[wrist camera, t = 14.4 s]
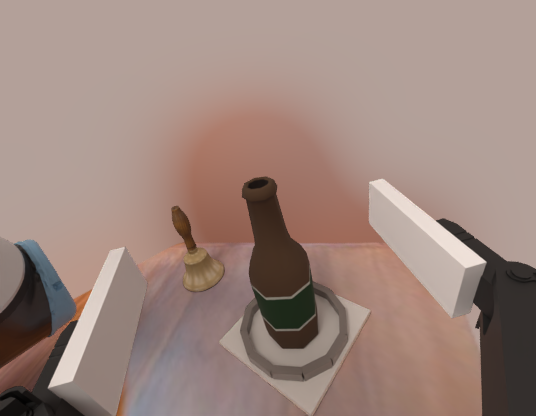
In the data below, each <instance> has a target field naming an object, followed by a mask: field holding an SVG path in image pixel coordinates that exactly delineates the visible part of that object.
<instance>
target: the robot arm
mask: <svg viewBox="0 0 536 416" xmlns="http://www.w3.org/2000/svg"><path fill="white" fill-rule="evenodd" d="M369 224H370V225H371V226H372V227H373V228H374V229H375V231H376V232H377V233H378V234H379V235H380V236H381V238H382V239H383V240H384V241H385V242H386V243H387V244H388V246H389V247H390V248H391V249H392V250H393V251H394V252H395V254H396V255H397V256H398V257H399V258H400V259H401V260H402V262H403V263H404V264H405V265H406V266H407V267H408V269H409V270H410V271H411V272H412V273H413V274H414V275H415V277H416V278H417V279H418V280H419V281H420V282H421V283H422V285H423V286H424V287H425V288H426V289H427V290H428V292H429V293H430V294H431V295H432V296H433V297H434V298H435V300H436V301H437V302H438V303H439V304H440V305H441V306H442V308H443V309H444V310H445V311H446V312H447V313H448V315H449V316H450V317H451V318H454V317H458V316H461V315H465V314H468V313H470V312H471V308H472V305H473V303H474V304H475V305H476V306H478V308H479V309H480V310H481V312H480V315H479V318H478V321H477V324H476V327H475V328H478V329H479V327H480V349H481V383H482V416H536V269H535V268H533V267H531V266H529V265H526V264H523V263H519V262H509V261H508V262H507V261H506V260H504V259H503V258H501V257H500V256H499V255H498V254H496V253H495V252H494V251H492V250H491V249H490V248H488V247H487V246H486V245H484V244H483V243H482V242H480V241H479V240H478V239H475V238H474V236H472V235H471V234H469V233H467V232H466V230H464V229H463V228H462V227H460V226H459V225H458V224H456V223H454V222H451V221H448V220H446V219H440V220H436V221H435V220H434V219H432V218H431V217H430V216H428V215H427V214H426V213H425V212H424V211H422V210H421V209H420V208H419V207H418V206H416V205H415V204H414V203H413V202H411V201H410V200H409V199H407V198H406V197H405V196H404V195H403V194H401V193H400V192H399V191H398V190H396V189H395V188H394V187H393V186H391V185H390V184H389V183H388V182H386V181H385V180H384V179H380V180H376V181H372V182H370V183H369ZM147 285H148V283H147V281H146V279H145V278H144V276H143V275H142V273H141V271H140V270H139V268H138V266H137V265H136V263H135V262H134V260H133V258H132V257H131V255H130V254H129V252H128V250H127V249H126V247H122V248H119V249H115V250H111V251H110V253H109V255H108V257H107V259H106V261H105V264H104V266H103V268H102V270H101V272H100V274H99V277H98V279H97V281H96V283H95V285H94V288H93V290H92V292H91V294H90V296H89V299H88V301H87V303H86V305H85V307H84V310H83V312H82V314H81V316H80V318H79V320H76V321H73V322H70V324H69V325H68V326H67V327H66V328H65V330H64V331H63V332H62V333H61V334H60V336H59V338H58V340H57V342H56V344H55V346H54V347H55V349H53V350H52V352H51V354H50V357H49V360H48V361H47V363H46V365H45V367H44V369H43V371H42V373H41V375H40V377H39V379H38V381H37V383H36V385H35V387H34V389H33V391H32V393H31V392H30V391H28V390H27V389H25V388H24V387H23V386H15V387H13V388H10V389H7V390H6V391H4V392H3V393H1V394H0V416H116V413H117V409H118V405H119V401H120V397H121V393H122V388H123V384H124V380H125V376H126V372H127V368H128V364H129V360H130V355H131V351H132V347H133V343H134V339H135V335H136V331H137V327H138V322H139V318H140V314H141V310H142V306H143V302H144V298H145V294H146V289H147ZM75 313H76V304H75V302H74V300H73V299H72V297H71V295H70V294H69V292H68V291H67V289H66V287H65V286H64V284H63V283H62V281H61V279H60V278H59V276H58V274H57V273H56V271H55V269H54V268H53V266H52V265H51V263H50V262H49V260H48V258H47V257H46V255H45V254H44V252H43V251H42V249H41V248H40V246H39V245H38V243H37V242H35V241H34V240H25V241H23V242H17V243H15V244H12V243H11V242H9V241H8V240H6V239H3V238H1V237H0V368H2V367H3V366H5V365H6V364H8V363H9V362H11V361H12V360H13V359H15V358H16V357H18V356H19V355H21V354H22V353H24V352H25V351H27V350H28V349H30V348H31V347H33V346H34V345H36V344H37V343H39V342H40V341H42V340H43V339H45V338H46V337H50V336H52V335H53V334H54V333H55V332H56V330H58V329H59V328H60V327H62V326H63V325H64V324H66V323H67V322H68V321H70V320H71V319H72V318H73V317H74V315H75Z"/></svg>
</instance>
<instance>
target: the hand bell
mask: <svg viewBox="0 0 536 416" xmlns="http://www.w3.org/2000/svg"><path fill="white" fill-rule="evenodd" d="M172 221H173V224H174V227H175V229H176V230H177V232H178V233H179V234H180V235H181V236H182V238H183V239H184V241H185V244H186V247H187V250H188V252H187V253H186V255H185V256H184V263H185V266H186V272H185V274H184V277H183V285H184V287H185V288H186V289H187V290H189V291H194V292H198V291H204V290H207V289H209V288H211V287H213V286H214V285H215V284H217V283H218V282H219V281H220V279H221V278H222V276H223V274H224V266H223V264H222V263H221V262H219V261H218V260H215V259H212V258H211V257H210V256H209V254H208V253H207V251H206V250H205V249H204V248H197V247H196V244H195V242H194V240H193V238H192V235H191V226H190V223H189V220H188V218H187V216H186V215H185V214H184V212H183V211H181V209H180V208H179V207H178V206H174V207H172Z"/></svg>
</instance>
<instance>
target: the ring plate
mask: <svg viewBox="0 0 536 416" xmlns="http://www.w3.org/2000/svg"><path fill="white" fill-rule="evenodd" d="M312 282H313V281H312ZM313 288H314V293H315V299H316V305H317V314H318V335H317V336H316V337H315V338H314V339H313V340H312V341H311V342H310V343H309V344H308V345H307V346H305V347H304V348H303V349H282V348H281V347H280V346H279V345H278V344H277V343H276V341H275V340H274V339H273V338H272V337H271V336H270V335H269V334H268V331H267V329H266V327H265V324H264V321H263V318H262V315H261V312H260V309H259V306H258V303H257V300H256V297H255V298H254V299H253V300H252V301H251V302H250V303H249V305H248V306H247V308H246V309H245V313H244V315H243V316H242V317H241V318H240V319H239V320H238V321H237V322H236V323H235V325H234V326H233V327H232V328H231V329H230V330H229V331H228V332H227V333H226V334H225V335H224V337H223V338H222V339H221V340H220V341H219V343H220V345H221V346H222V347H224V348H225V349H226V350H227V351H229V352H230V353H231V354H232V355H234V356H235V357H236V358H237V359H239V360H240V361H241V362H242V363H244V364H245V365H246V366H247V367H249V368H250V369H251V370H252V371H254V372H255V373H256V374H257V375H259V376H260V377H261V378H262V379H263V380H265V381H266V382H267V383H268V384H270V385H271V386H272V387H273V388H275V389H276V390H277V391H278V392H280V393H281V394H282V395H283V396H285V397H286V398H287V399H288V400H290V401H291V402H292V403H293V404H295V405H296V406H297V407H298V408H300V409H301V410H302V411H303V412H305V413H306V414H307V415H308V416H313V415H314V413H315V411H316V410H317V408H318V406H319V404H320V402H321V401H322V399H323V397H324V395H325V394H326V392H327V390H328V388H329V386H330V385H331V383H332V381H333V379H334V378H335V376H336V374H337V372H338V370H339V369H340V367H341V365H342V363H343V362H344V360H345V358H346V356H347V354H348V353H349V351H350V349H351V347H352V346H353V344H354V342H355V340H356V339H357V337H358V335H359V333H360V331H361V330H362V328H363V326H364V324H365V323H366V321H367V319H368V317H369V315H370V310H369V309H367V308H364V307H362V306H360V305H358V304H356V303H353V302H351V301H349V300H347V299H344V298H342V297H340V296H338V295H336V294H334V293H333V291H332V290H330V289H329V288H327V287H325V286H322V285H320V284H318V283H316V282H313Z"/></svg>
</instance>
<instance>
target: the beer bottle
mask: <svg viewBox="0 0 536 416" xmlns="http://www.w3.org/2000/svg"><path fill="white" fill-rule="evenodd" d="M276 191H277V185H276V183H275V181H274V180H273V179H271V178H268V177H259V178H254V179H252V180H250V181H248V182H246V183H244V186H243V189H242V197H243V198H244V199H246V201H247V206H248V210H249V216H250V220H251V225H252V229H253V234H254V239H255V246H254V248H253V252H252V256H251V260H250V267H249V277H250V282H251V286H252V289H253V292H254V294H255V297H256V300H257V303H258V306H259V309H260V312H261V315H262V318H263V321H264V324H265V327H266V329H267V331H268V334H269V335H270V336H271V337H272V338H273V339H274V340H275V341H276V343H277V344H278V345H279V346H280V347H281V348H282V349H303V348H304V347H305V346H307V345H308V344H309V343H310V342H311V341H312V340H313V339H314V338H315V337H316V336H317V335H318V314H317V305H316V299H315V293H314V288H313V282H312V276H311V270H310V264H309V260H308V257H307V253H306V252H305V250H304V249H303V248H302V246H301V245H300V244H299V243H297V242H296V241H294V240H293V239H292V238H290V235H289V233H288V231H287V229H286V226H285V223H284V219H283V216H282V212H281V209H280V206H279V202H278V199H277V195H276Z"/></svg>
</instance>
